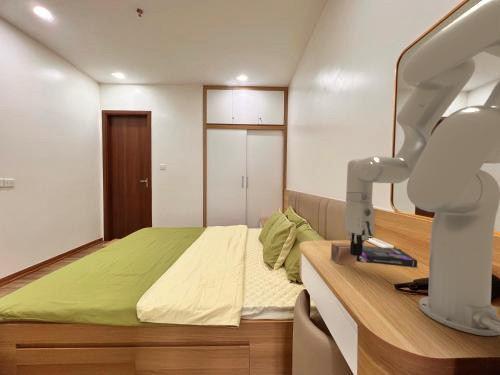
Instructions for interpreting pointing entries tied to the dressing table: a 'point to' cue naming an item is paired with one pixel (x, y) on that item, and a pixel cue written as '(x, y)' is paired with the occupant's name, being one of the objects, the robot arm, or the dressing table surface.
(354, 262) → the walnut block
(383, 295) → the dressing table surface
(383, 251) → the box
